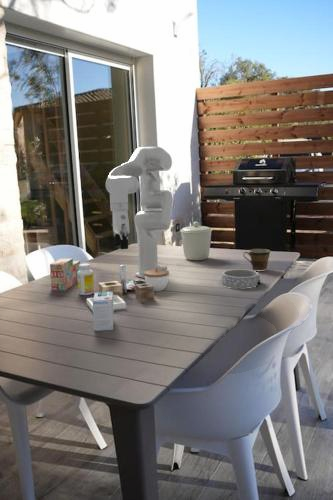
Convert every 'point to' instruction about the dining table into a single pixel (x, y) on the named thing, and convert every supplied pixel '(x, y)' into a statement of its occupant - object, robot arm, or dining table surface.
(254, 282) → the dog bowl
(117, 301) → the tray
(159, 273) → the lidded jar
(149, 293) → the walnut block
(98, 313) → the light bulb box
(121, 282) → the steel pin
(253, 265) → the ceramic cup
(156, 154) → the robot arm
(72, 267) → the stack of blocks
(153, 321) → the dining table surface
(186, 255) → the canister
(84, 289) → the supplement bottle
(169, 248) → the dining table surface
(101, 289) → the oak block
